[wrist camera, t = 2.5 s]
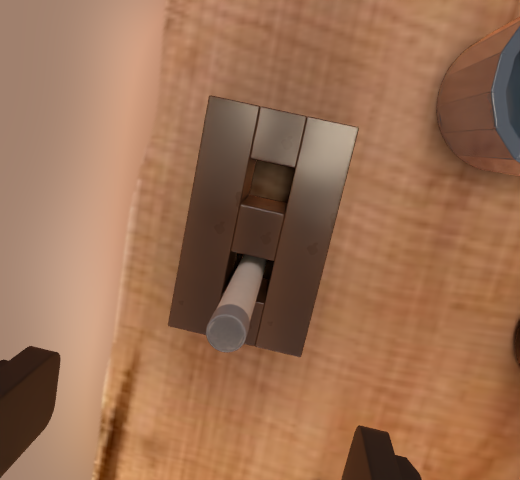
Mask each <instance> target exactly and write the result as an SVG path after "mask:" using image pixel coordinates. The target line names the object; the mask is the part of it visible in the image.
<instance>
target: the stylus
mask: <svg viewBox="0 0 520 480" xmlns="http://www.w3.org/2000/svg"><path fill="white" fill-rule="evenodd" d="M266 263H267V259H263V258H258V257H254V256H250V255H245V254H244V255H243V257H242V259H241V261H240V263H239V265H238V267H237V269H236V271H235V273H234V275H233V277H232V279H231V281H230V283H229V285H228V287H227V289H226V291H225V293H224V295H223V297H222V299H221V301H220V303H219V305H218V307H217V309H216V310H215V312H214V313H213V315H212V317H211V319H210V321H209V323H208V325H207V328H206V336H207V339H208V341H209V343H210V344H211V345H212V346H213V347H214V348H215V349H217V350H219V351H221V352H233V351H236V350H238V349H239V348H240V347H242V345H243V344H244V342H245V340H246V337H247V333H248V330H249V325H250V320H251V316H252V313H253V309H254V306H255V302H256V298H257V295H258V291H259V288H260V284H261V281H262V277H263V274H264V270H265V266H266Z"/></svg>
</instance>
